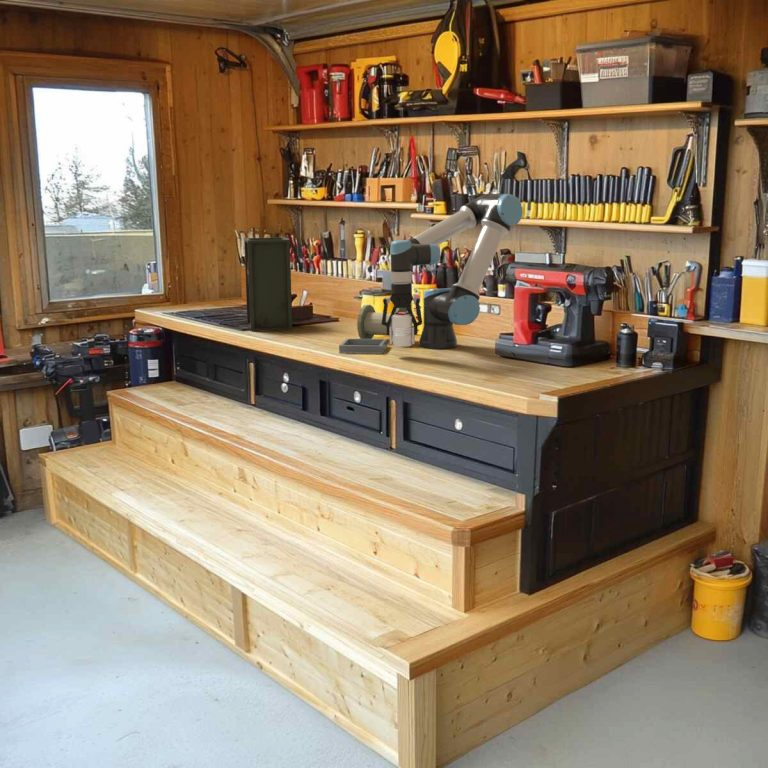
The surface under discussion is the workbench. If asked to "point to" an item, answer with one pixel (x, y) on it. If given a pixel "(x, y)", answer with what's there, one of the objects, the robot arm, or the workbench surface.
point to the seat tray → (363, 346)
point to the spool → (372, 322)
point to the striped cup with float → (402, 329)
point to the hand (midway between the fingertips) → (402, 343)
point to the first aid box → (268, 283)
